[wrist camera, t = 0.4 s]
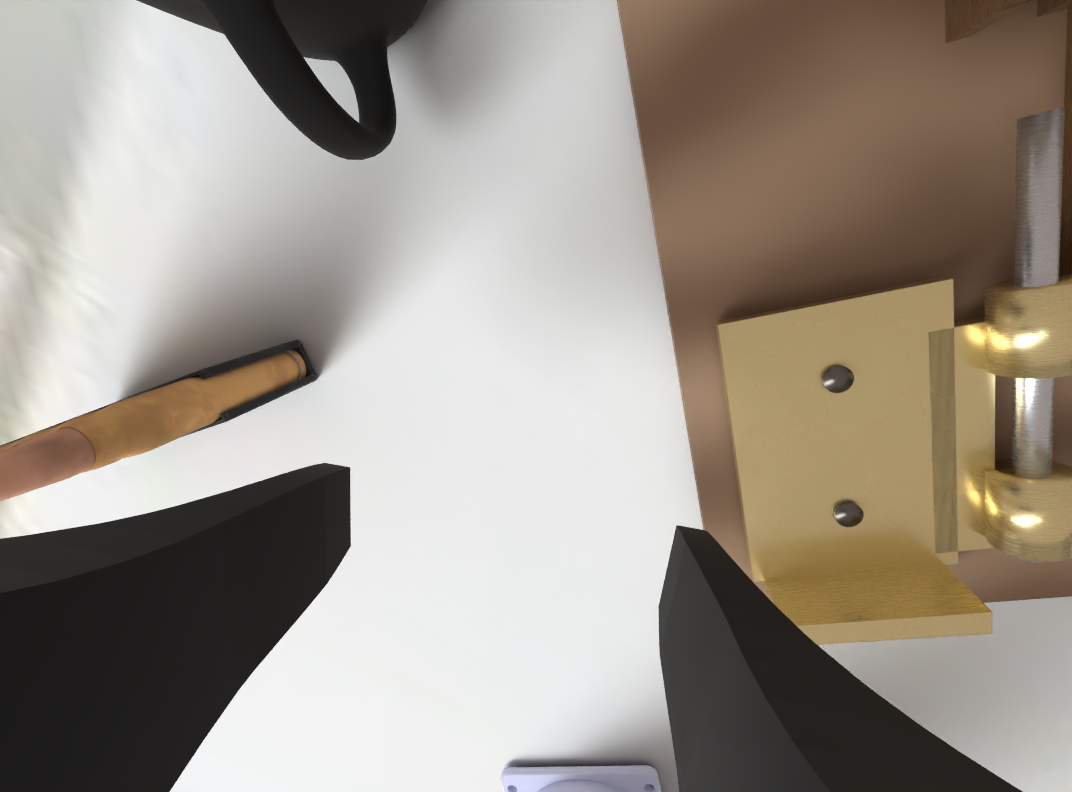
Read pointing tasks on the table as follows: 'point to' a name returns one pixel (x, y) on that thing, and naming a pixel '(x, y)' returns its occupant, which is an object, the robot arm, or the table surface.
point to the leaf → (905, 434)
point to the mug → (320, 33)
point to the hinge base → (982, 4)
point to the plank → (833, 189)
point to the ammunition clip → (152, 418)
